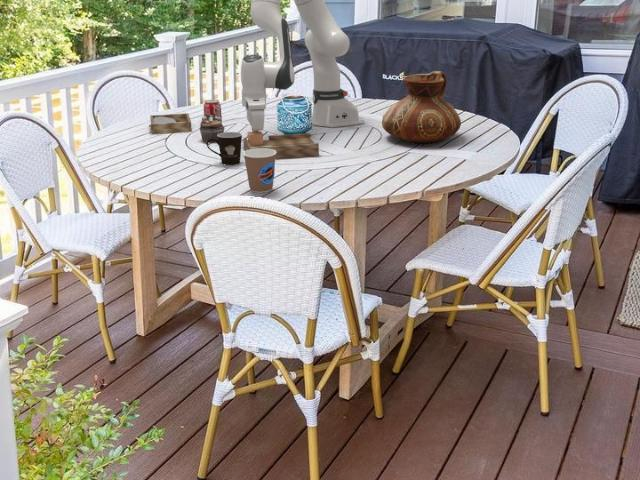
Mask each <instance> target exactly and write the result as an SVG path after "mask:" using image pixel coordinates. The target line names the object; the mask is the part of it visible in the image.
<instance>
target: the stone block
mask: <svg viewBox="0 0 640 480" xmlns="http://www.w3.org/2000/svg"><path fill="white" fill-rule="evenodd" d="M160 123H176V121H175V120H174V119H172V118H167V117H155V118H154V119H153V124H160Z"/></svg>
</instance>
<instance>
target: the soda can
mask: <svg viewBox="0 0 640 480" xmlns="http://www.w3.org/2000/svg"><path fill="white" fill-rule="evenodd" d="M221 105H222V104H221V103H220V100H219V99H206V100H205V101H204V103H203V117H204V116H207V115H210V114H212V115H213V116H215V115H218V116H219V117H221V119H220V121H221V122H222V123H223V121H222V120H223V119H222V117H223V116H222V106H221Z"/></svg>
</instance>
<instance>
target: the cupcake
mask: <svg viewBox="0 0 640 480" xmlns="http://www.w3.org/2000/svg"><path fill="white" fill-rule="evenodd" d="M220 119H221V117H219V116H218V115H215V116H213V115H212V114H210V115H207V116H204V115H203V116H202V117H201V122H200V123H199V124H200V125H199V132H200V136H201V140H202V142H203V143H206V142H207V141H208V140H210V139H215V140H218V138H217V135H218V134H220V133H224V132H225V126H224V125H223V121H222V122H221V121H220ZM214 143H215V141H210V142H209V143H208V144H214ZM215 144H216V143H215Z"/></svg>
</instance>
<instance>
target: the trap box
mask: <svg viewBox="0 0 640 480" xmlns="http://www.w3.org/2000/svg"><path fill="white" fill-rule="evenodd" d="M310 135H311V134H310V132H309V133H291V134H277V135H276V134H274V135H268V139H263V145H258V146H250V144H249V142H248V137H243V142H242V143H243V144H242V145H243V150H244V151H247V150H250V149H257V148H266V149H272V150H275V151H276V152H277V153H276V154H275V160H280V159H294V158H295V159H296V158H307V157H308V158H309V157H312V158H313V157H319V156H320V152H319V151H320V144H319V143H318V142H316V143H315V142H314V141H313V140H312V138H311V136H310ZM244 151H243V152H244Z"/></svg>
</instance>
